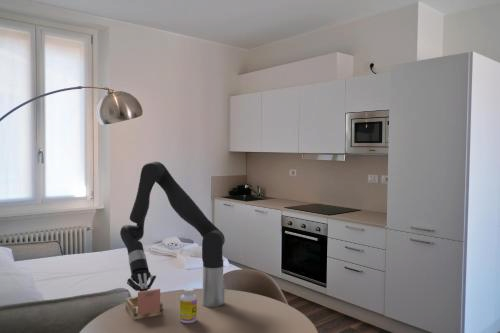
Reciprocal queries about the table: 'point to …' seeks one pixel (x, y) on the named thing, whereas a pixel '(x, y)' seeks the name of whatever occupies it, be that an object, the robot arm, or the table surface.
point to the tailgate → (148, 301)
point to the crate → (133, 309)
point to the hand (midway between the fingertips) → (145, 298)
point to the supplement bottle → (188, 305)
